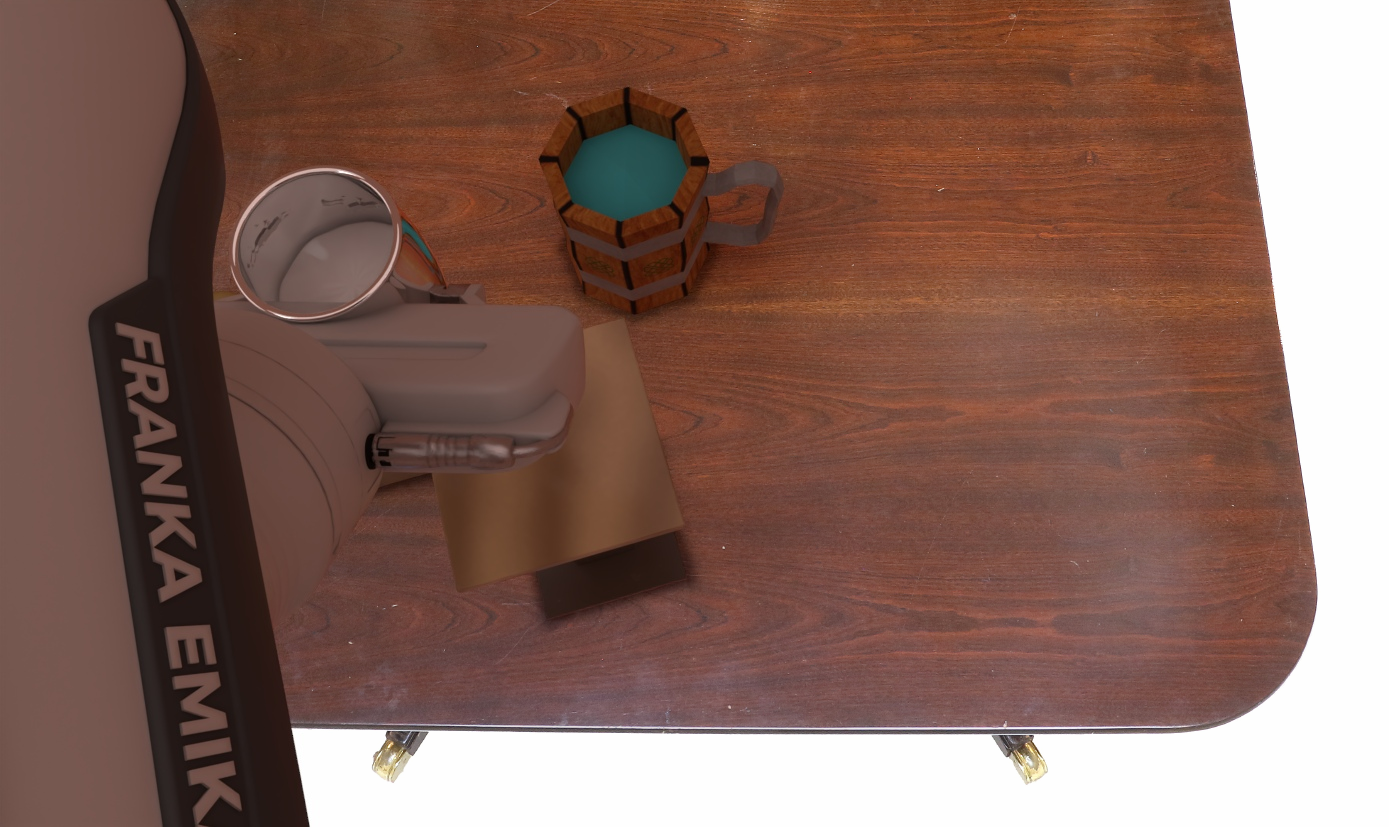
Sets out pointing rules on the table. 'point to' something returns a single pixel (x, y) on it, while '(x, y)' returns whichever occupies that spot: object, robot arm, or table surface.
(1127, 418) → the table surface
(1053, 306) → the table surface
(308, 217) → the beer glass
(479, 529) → the square wooden board
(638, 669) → the table surface
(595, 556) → the stand post
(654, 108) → the mug
